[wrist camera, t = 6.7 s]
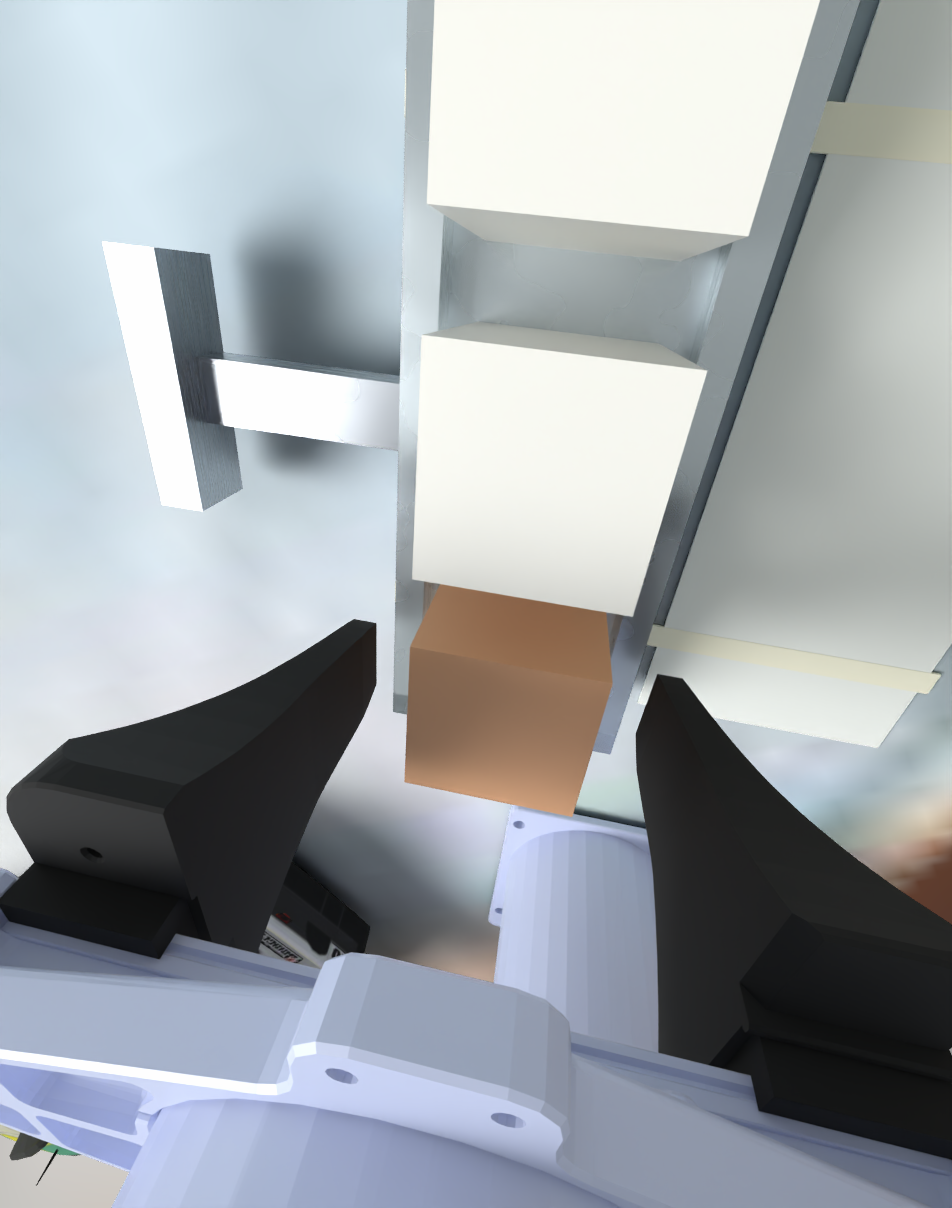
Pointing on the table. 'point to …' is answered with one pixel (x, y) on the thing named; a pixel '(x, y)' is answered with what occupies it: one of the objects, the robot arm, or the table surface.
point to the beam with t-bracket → (450, 299)
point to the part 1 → (610, 119)
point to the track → (841, 431)
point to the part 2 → (546, 461)
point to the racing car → (272, 954)
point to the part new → (506, 698)
